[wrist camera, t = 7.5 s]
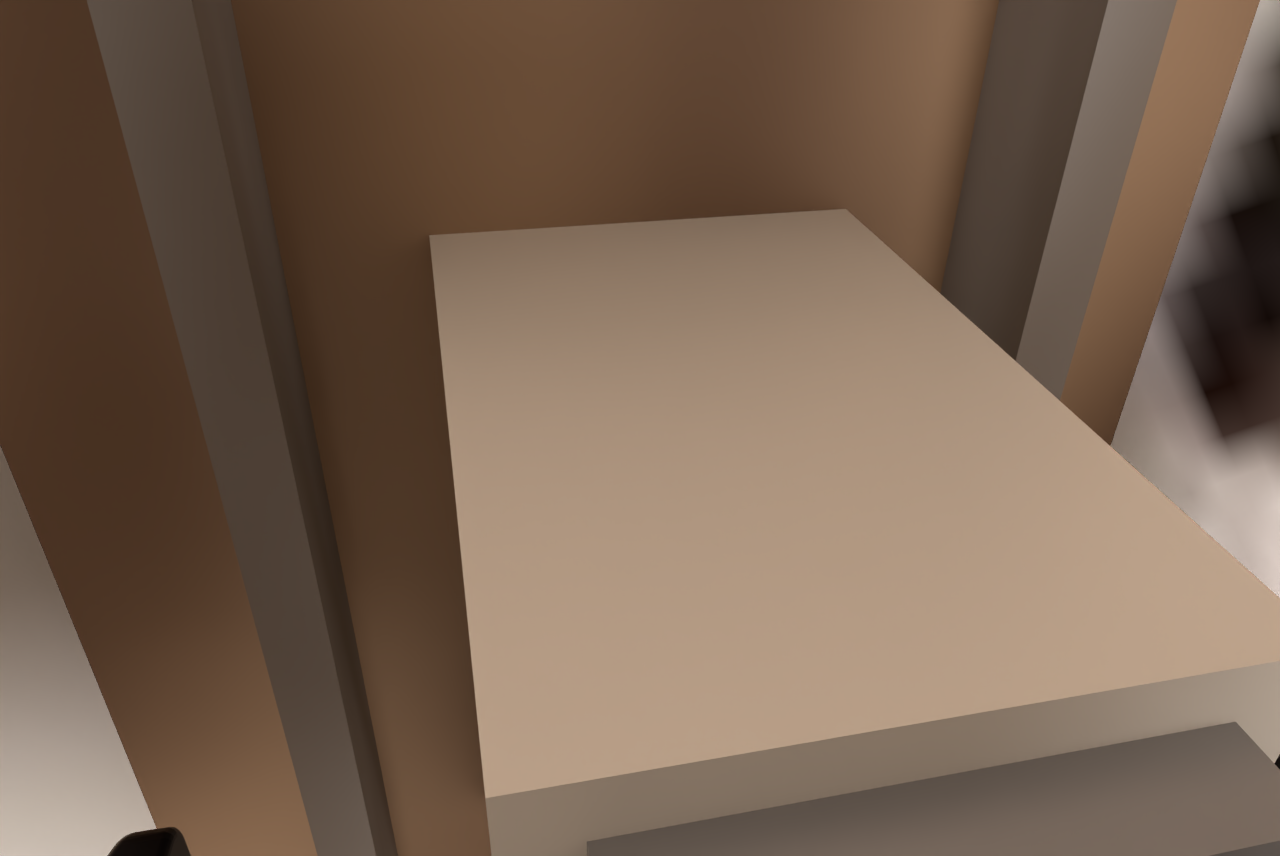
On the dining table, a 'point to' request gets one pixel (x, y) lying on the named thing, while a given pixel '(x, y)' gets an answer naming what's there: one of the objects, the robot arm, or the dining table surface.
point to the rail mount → (407, 315)
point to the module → (821, 568)
